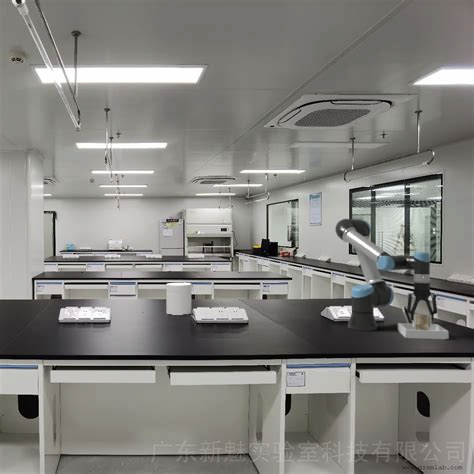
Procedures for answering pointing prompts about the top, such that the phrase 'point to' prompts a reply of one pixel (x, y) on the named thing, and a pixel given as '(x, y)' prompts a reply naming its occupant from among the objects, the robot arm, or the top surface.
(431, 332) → the tray
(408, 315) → the hinge
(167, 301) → the canister
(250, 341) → the top surface
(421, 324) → the tan cylinder
